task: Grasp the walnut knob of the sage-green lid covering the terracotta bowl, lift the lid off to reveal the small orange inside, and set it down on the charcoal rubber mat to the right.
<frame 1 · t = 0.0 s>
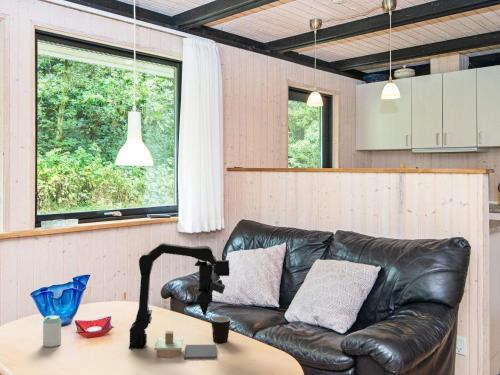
hand: (204, 311, 206), 15 cm above the table, fingers open, 9 cm apart
lid: (169, 344, 197), point 3 cm above the table, touching bowl
bowl: (169, 353, 197), on the table
mat: (200, 352, 199), on the table
coffee mug: (221, 340, 214), on the table
can: (52, 345, 203), on the table
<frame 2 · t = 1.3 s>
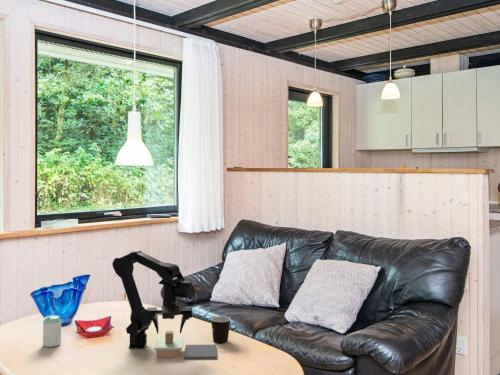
hand: (169, 333, 197), 8 cm above the table, fingers open, 9 cm apart
nothing on the table moved.
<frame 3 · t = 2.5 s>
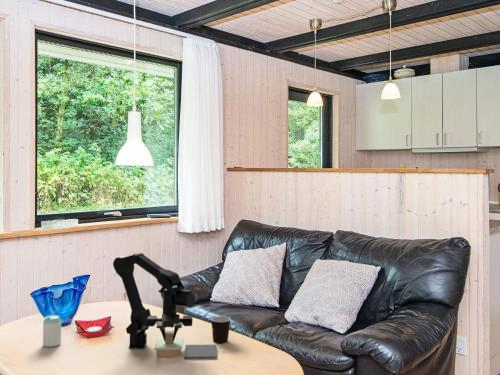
hand: (169, 341, 197), 5 cm above the table, fingers closed on lid, 3 cm apart
lid: (169, 344, 197), point 3 cm above the table, touching bowl, gripper
everything else where it was.
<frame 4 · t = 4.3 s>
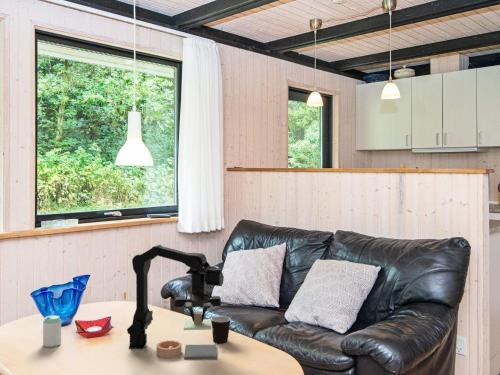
hand: (198, 322, 198), 13 cm above the table, fingers closed on lid, 3 cm apart
lid: (197, 325, 198), point 12 cm above the table, touching gripper
everything else where it was.
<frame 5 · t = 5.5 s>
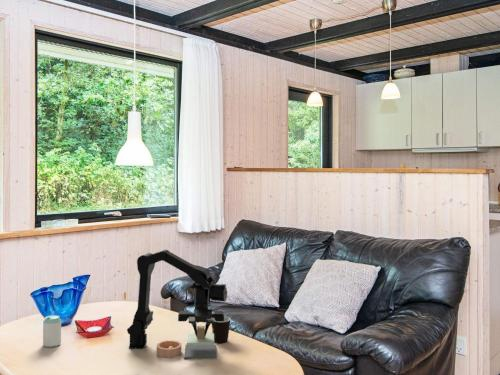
hand: (200, 336, 198), 7 cm above the table, fingers closed on lid, 3 cm apart
lid: (200, 339, 198), point 5 cm above the table, touching gripper
everything else where it was.
when the fingers open (4 cm above the table, at t = 6.3 s): lid drops 1 cm, resting on mat.
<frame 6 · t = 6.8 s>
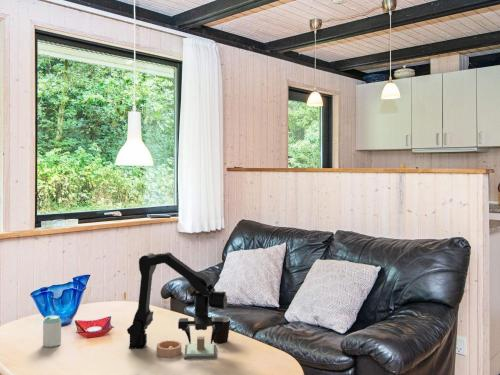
hand: (200, 343, 198), 4 cm above the table, fingers open, 8 cm apart
lid: (200, 350, 198), point 1 cm above the table, touching mat
everything else where it was.
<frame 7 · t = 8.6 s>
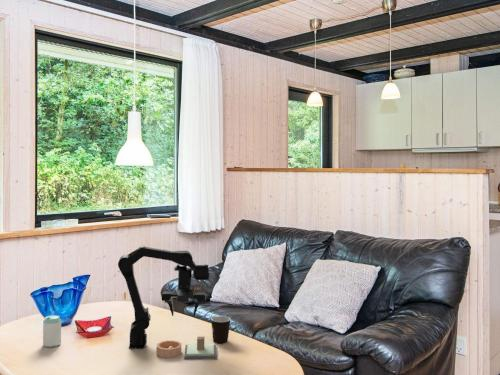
hand: (183, 315, 208), 12 cm above the table, fingers open, 9 cm apart
nothing on the table moved.
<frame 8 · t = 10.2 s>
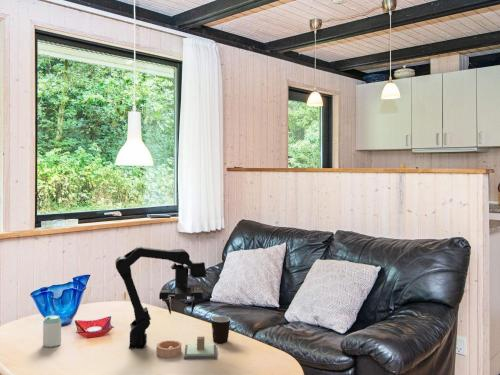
hand: (181, 313, 210), 13 cm above the table, fingers open, 9 cm apart
nothing on the table moved.
at the end: lid inside the target area on the mat (0.1 cm from its centre), point 1.0 cm above the mat's base; lid touching mat; lid tilted 0° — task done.
